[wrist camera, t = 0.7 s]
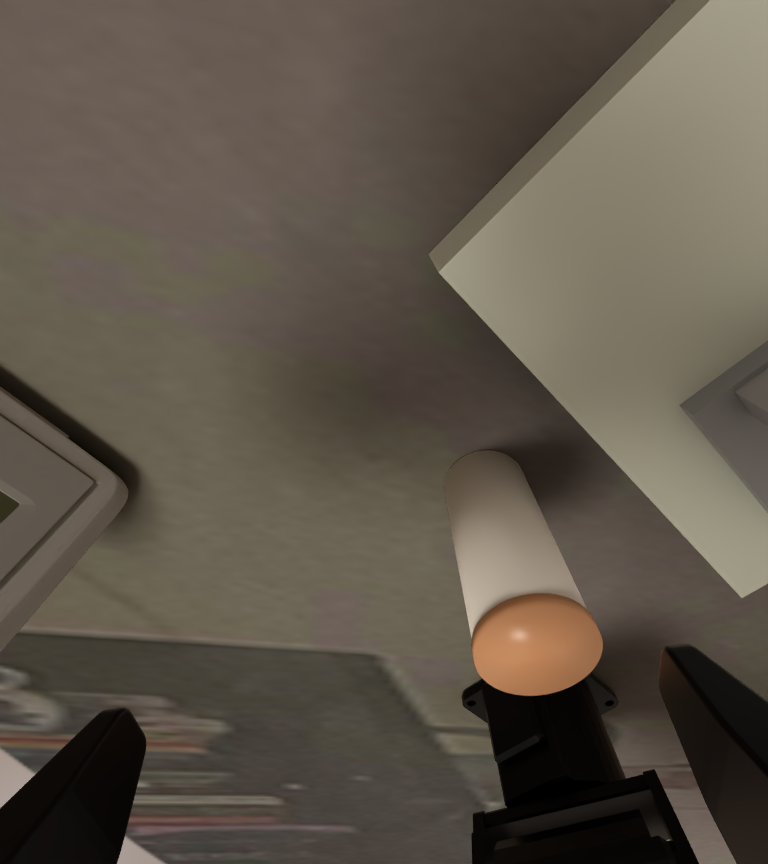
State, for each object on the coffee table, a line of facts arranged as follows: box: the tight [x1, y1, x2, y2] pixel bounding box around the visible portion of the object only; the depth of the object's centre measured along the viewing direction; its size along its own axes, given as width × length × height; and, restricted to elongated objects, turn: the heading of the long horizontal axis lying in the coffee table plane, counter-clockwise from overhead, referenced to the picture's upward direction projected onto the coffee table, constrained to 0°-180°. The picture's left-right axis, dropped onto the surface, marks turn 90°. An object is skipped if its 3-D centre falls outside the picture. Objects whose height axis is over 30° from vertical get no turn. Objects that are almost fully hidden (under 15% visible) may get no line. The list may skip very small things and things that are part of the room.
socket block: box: [428, 0, 768, 598], centre depth 17 cm, size 18×12×4 cm, turn 45°
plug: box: [444, 450, 603, 696], centre depth 19 cm, size 4×4×9 cm
